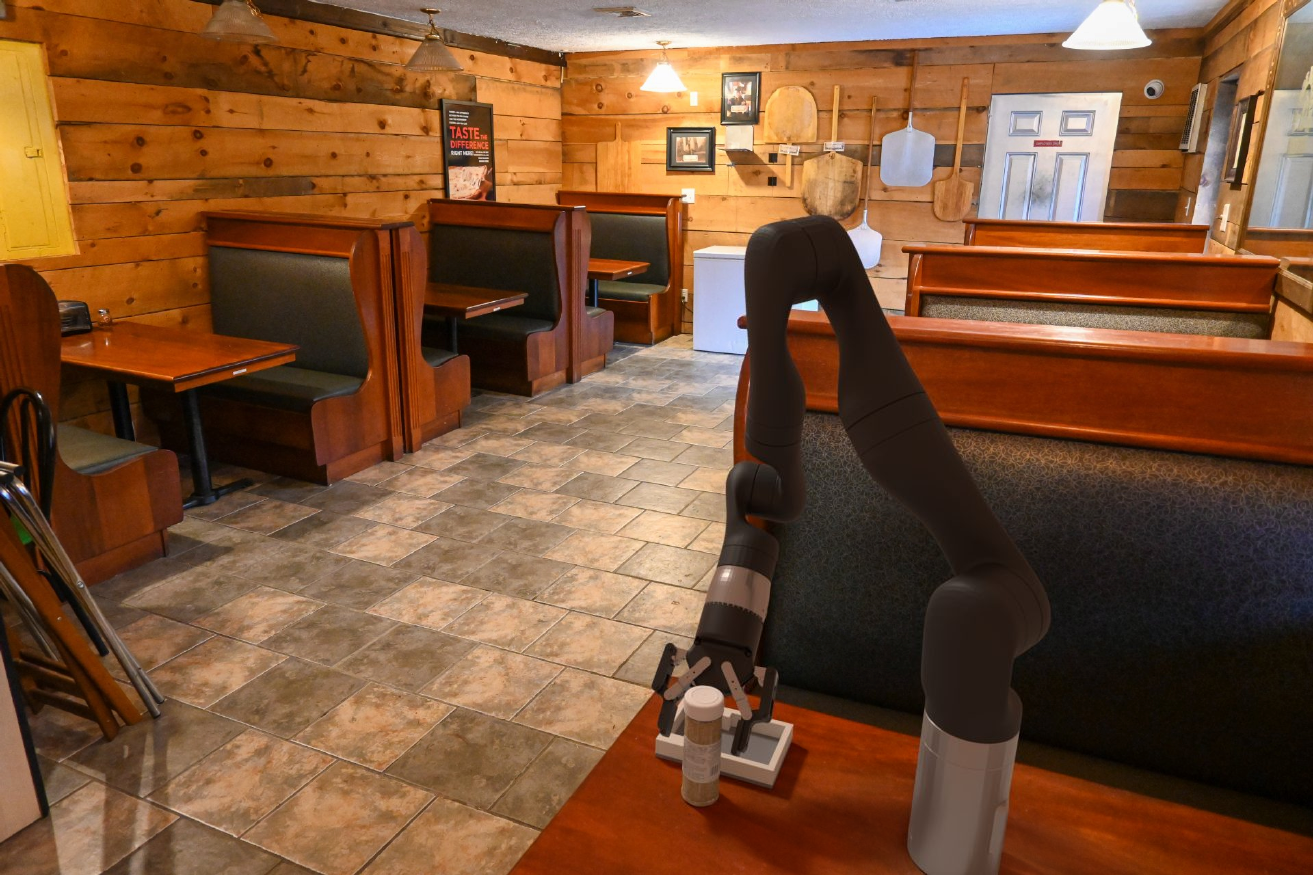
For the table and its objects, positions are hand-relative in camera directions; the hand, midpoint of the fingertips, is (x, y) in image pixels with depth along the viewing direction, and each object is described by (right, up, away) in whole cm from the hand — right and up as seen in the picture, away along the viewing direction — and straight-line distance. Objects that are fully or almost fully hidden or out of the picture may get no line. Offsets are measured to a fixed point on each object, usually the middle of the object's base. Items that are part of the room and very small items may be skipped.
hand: (699, 745), depth 98 cm
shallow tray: (+4, -4, +11) cm, 13 cm away
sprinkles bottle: (0, -7, +3) cm, 8 cm away
